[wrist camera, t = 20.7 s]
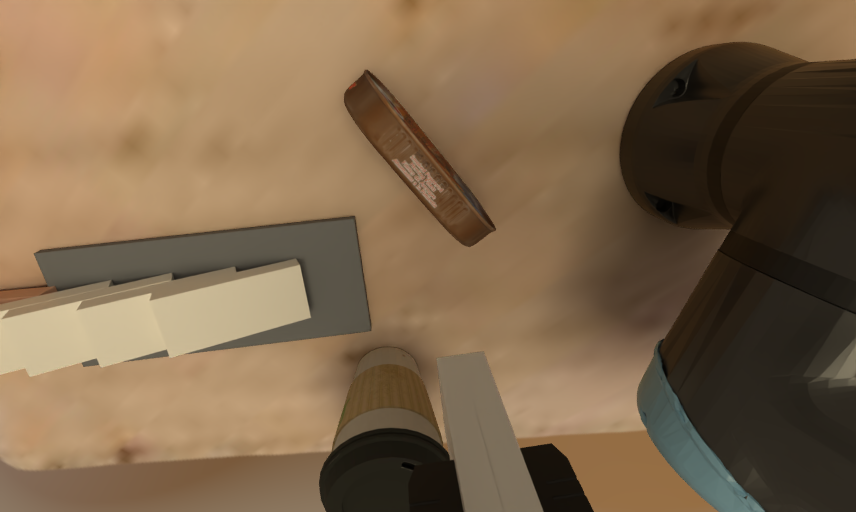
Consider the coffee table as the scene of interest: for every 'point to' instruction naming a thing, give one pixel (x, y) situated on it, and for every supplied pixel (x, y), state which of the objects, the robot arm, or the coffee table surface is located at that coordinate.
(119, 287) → the domino
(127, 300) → the domino
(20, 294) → the domino
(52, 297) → the domino
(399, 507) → the coffee cup
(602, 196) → the coffee table surface
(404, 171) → the tin
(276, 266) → the domino
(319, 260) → the mat
